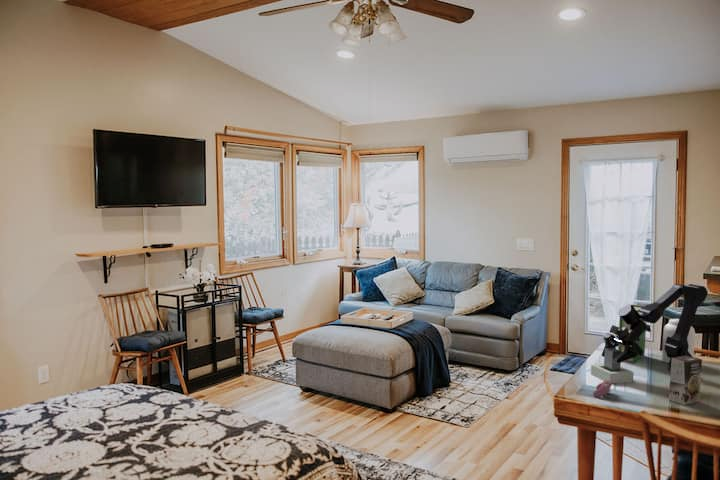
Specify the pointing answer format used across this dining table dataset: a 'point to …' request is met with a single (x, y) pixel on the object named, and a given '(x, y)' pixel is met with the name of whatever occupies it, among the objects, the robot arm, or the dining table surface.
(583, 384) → the dining table surface
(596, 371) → the well block
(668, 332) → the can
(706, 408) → the dining table surface
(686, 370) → the coffee box
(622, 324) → the hardback book
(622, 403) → the dining table surface
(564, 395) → the dining table surface
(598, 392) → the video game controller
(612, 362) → the gray rectangular block
